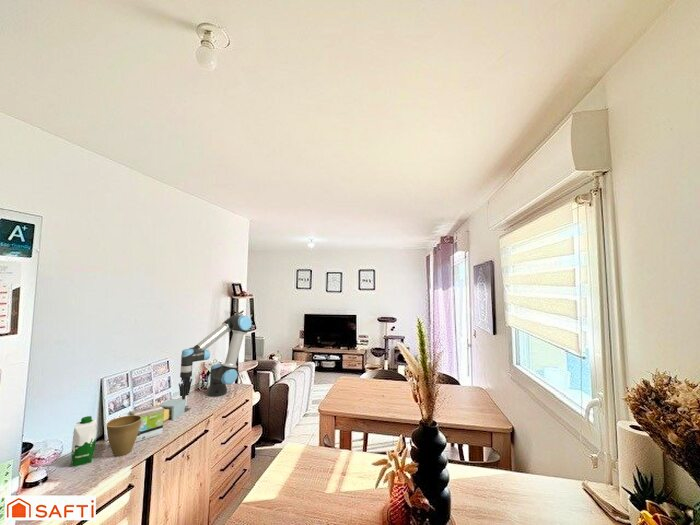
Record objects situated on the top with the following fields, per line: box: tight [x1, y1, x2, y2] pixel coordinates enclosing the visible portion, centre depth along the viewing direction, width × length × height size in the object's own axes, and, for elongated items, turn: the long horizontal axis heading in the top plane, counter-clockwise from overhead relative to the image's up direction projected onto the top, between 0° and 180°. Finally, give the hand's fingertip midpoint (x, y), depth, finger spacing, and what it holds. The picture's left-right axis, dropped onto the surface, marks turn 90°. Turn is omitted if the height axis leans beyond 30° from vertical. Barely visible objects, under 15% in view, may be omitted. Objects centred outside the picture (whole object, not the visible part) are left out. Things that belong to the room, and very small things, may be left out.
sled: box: [164, 409, 172, 422], centre depth 206 cm, size 24×6×6 cm, turn 176°
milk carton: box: [71, 415, 98, 468], centre depth 152 cm, size 9×9×20 cm
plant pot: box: [106, 415, 142, 457], centre depth 161 cm, size 15×15×16 cm
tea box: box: [128, 404, 164, 443], centre depth 179 cm, size 15×10×15 cm, turn 143°
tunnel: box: [158, 398, 192, 423], centre depth 208 cm, size 33×10×9 cm, turn 176°
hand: (184, 405), depth 221 cm, fingers closed
